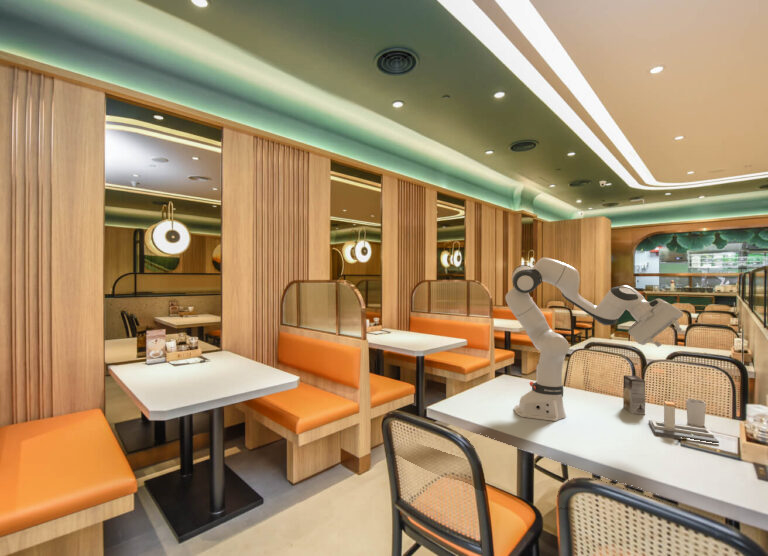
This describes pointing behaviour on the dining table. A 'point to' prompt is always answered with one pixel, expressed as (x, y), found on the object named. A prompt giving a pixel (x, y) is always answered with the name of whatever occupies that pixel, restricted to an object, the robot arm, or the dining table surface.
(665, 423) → the fader
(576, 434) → the dining table surface
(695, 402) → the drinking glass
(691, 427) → the console
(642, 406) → the coffee box
